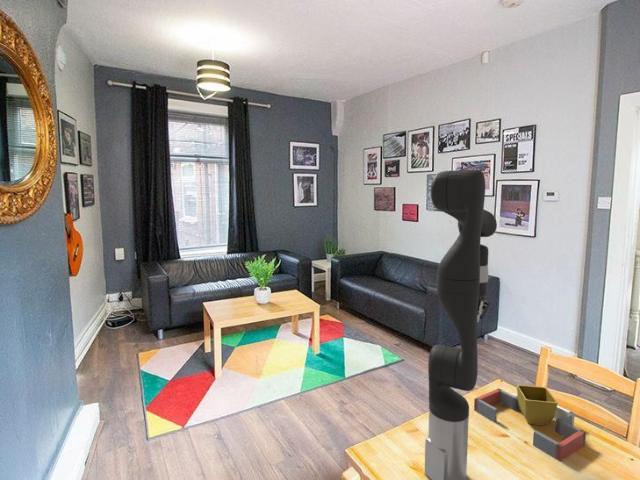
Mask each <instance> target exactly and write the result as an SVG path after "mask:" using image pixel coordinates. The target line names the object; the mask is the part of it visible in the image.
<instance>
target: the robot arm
mask: <svg viewBox="0 0 640 480" xmlns="http://www.w3.org/2000/svg"><path fill="white" fill-rule="evenodd" d="M485 196H486V177H485V175H484V172H483V171H482V170H480V169H460V170H445V171H444V170H443V171H441V172H437V173H436V174H435V175H434V176H433V178H432V180H431V185H430V198H431V202H432V204H433V206H434V207H435V209H436V210H438V211H441V212H443V213H445V214H447V215H449V216H451V217H452V218H454V219H456V221H457V229H458V232H459V235H458V236H457V238H456V240H455V241H454V242H453V244H452V245H451V246H450V248H449V249H448V250H447V252H446V253H445V254H444V256H443V257H442V259H441V260H440V263H439V264H438V267H437V279H436V280H437V281H436V292H437V293H436V295H437V298H438V301H439V302H440V304H441V306H442V308H443V310H444V311H445V313H446V314H447V316H448V318H449V320H450V321H451V323H452V324H453V327H454V328H455V331H456V333H457V335H458V338H459V343H460V348H459V347H453V346H448V345H443V344H435V345H433V346H432V347H431V349H430V351H429V356H428V363H427V365H428V366H427V367H428V370H427V372H428V373H427V375H428V403H429V405H428V431H427V433H428V437H427V438H425V439H424V440H425V442H424V445H425V446H424V475H426V476H427V477H428V478H429V479H431V480H467V466H468V463H467V462H468V444H469V443H468V442H469V441H468V440H469V423H470V421H469V420H470V405H469V401H468V400H467V399H466V398H465V397H464V396H463V395H462V394H460V393H459V392H458V391H456V390H454V389H457V390H461V391H467V392H470V391H473V390H474V388H475V387H476V384H477V381H478V369H479V368H478V366H479V363H478V329H479V328H478V327H479V326H478V325H479V324H478V323H479V322H480V320H483V319H484V317H485V315H486V313H487V312H488V309H489V307H490V305H491V302H489V301H486V297H487V295H488V292H489V291H488V289H489V287H488V286H489V248H488V246H487V245H485V244H481V238H489V237H491V236H493V235H494V234H495V233H496V231H497V226H498V224H497V220H496V216H494V214H493V212H490V211H488V210H486V209H484V208H485V198H486V197H485ZM485 296H486V297H485Z"/></svg>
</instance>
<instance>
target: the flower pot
mask: <svg viewBox="0 0 640 480" xmlns="http://www.w3.org/2000/svg"><path fill="white" fill-rule="evenodd" d="M516 393H517V394H516V396H518V403H519V406H520V410H521V411H520V412H521V413H522V415H523V417H524V419H525V420H526V422H527V424H529V425H536V426H547V425H549V424H550V423H551V422H552V421H553V419H555V418H554V415H555V412H556V408H557V405H558V403H559V402H558V401H557V399H556V398H555V397H554V396H553V394H552V393H551V391H550V390H549V389H548V388H547V387H544V386H534V385H522V384H517V385H516Z"/></svg>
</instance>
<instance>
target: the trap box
mask: <svg viewBox="0 0 640 480" xmlns="http://www.w3.org/2000/svg"><path fill="white" fill-rule="evenodd" d="M473 402H474V403H473V405H474V406H473V407H474V408H473V410H474V411H475V412H476V413H478V414H480V415H482V416H484V418H486V419H488V420H490V421H492V422H493V423H495V422H497V417H498V416H497V415H498V408H497V407H494V406H493V405H496V404H498V403H500V404H502V405H504V406H506V407H508V408H510V409H512V410H513V411H515V412H517V411H519V410H521V409H520V406H519V403H518V395H516V396H515V395H513V394H511V393H509V392H507V391H506V390H503V389H501V388H497V389H494V390H492V391H489V392H487V393H485V394H482V395H479V396H477V397H475V398H474V401H473ZM575 415H576V413H575V412H572V411H570V410H568V409H567V408H564V407H562V406H560V405H558V404H557V408H556V412H555V415H554V418H553V419H555V430H554V431H555V433H557V434H558V435H560V436H561V437H563V438H565V439H563V440H562V441H560V442H558V441H557V440H556V441H555V440H554V439H553V438H551V437H549V436H548V435H546V434H544V433H542V432H541V431H538V430H534V431H533V437H532V439H533V440H532V446H534V447H535V448H537V449H539V450H540V451H542V452H544V453H545V454H547V455H549V456H550V457H552V458H554V459H555V460H556V461H558V462H561V461H563V460H565V459H567V457H569V456H570V455H572V454H573V453H575V452H577V451H578V450H579V449H581V448H582V447H584V446H585V444H586V434H587V433H586V430H583V429H581V428H580V427H578V426H575V417H576V416H575Z"/></svg>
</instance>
